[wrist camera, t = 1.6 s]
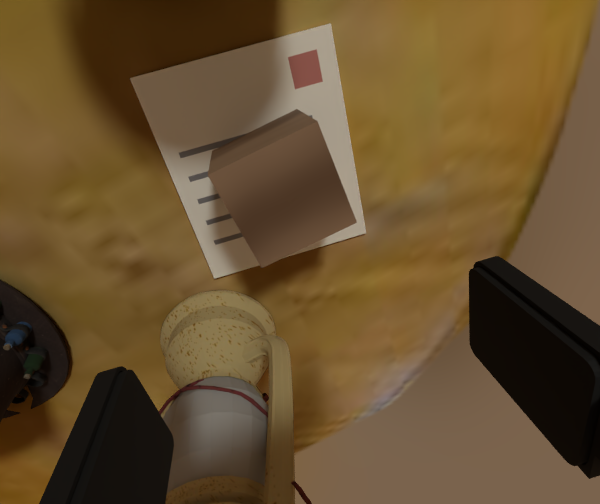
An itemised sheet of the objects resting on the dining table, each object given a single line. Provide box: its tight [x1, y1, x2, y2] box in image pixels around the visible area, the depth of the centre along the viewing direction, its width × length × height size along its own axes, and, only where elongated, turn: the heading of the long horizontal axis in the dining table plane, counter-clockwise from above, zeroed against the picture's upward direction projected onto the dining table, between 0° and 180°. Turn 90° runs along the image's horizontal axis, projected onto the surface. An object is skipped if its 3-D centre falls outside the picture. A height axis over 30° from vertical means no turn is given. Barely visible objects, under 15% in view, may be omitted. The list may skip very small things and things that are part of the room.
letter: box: [130, 23, 366, 279], centre depth 25 cm, size 14×12×1 cm
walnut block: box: [208, 109, 357, 268], centre depth 22 cm, size 6×6×6 cm
